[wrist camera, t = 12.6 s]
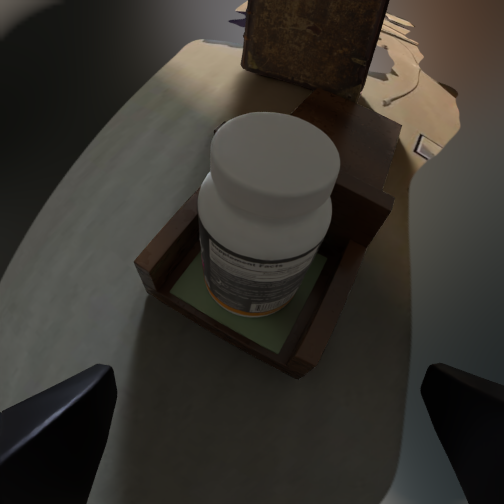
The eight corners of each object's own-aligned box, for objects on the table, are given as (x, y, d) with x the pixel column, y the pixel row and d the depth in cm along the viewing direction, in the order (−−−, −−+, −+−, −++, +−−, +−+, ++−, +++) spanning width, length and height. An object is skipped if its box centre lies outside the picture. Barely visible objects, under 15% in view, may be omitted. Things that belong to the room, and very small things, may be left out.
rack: (298, 380, 17) (343, 349, 11) (146, 292, 20) (115, 222, 13) (397, 134, 33) (420, 84, 26) (314, 97, 35) (327, 44, 28)
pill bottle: (221, 228, 21) (225, 93, 12) (305, 251, 20) (356, 126, 12) (189, 304, 18) (166, 178, 9) (286, 333, 17) (350, 228, 9)
